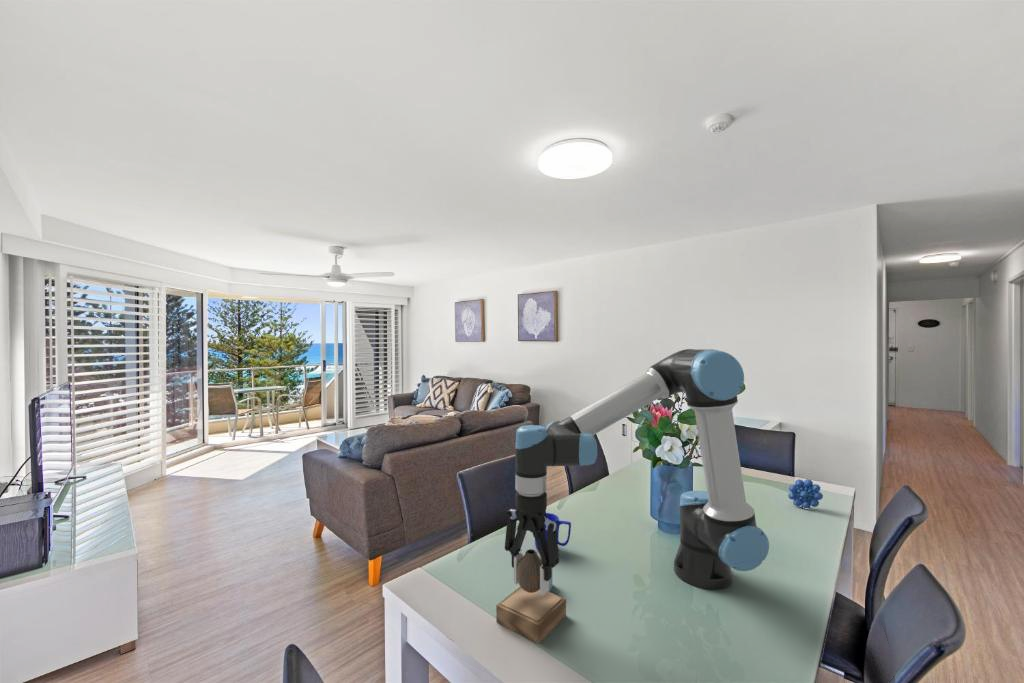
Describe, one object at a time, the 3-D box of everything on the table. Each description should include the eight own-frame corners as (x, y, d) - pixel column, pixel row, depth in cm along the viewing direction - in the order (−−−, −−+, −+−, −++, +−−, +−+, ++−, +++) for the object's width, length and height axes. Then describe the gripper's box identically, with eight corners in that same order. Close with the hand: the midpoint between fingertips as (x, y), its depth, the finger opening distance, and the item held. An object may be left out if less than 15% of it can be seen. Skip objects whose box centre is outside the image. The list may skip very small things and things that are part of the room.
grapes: (826, 510, 167) (826, 479, 167) (821, 515, 162) (821, 483, 162) (791, 502, 176) (791, 472, 176) (786, 506, 171) (786, 476, 171)
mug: (570, 557, 131) (570, 525, 131) (531, 554, 134) (531, 522, 134) (571, 545, 139) (571, 514, 139) (535, 541, 142) (535, 511, 142)
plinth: (566, 615, 104) (565, 597, 104) (538, 643, 94) (538, 624, 94) (525, 597, 111) (525, 581, 111) (496, 622, 101) (496, 604, 101)
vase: (515, 580, 106) (515, 545, 106) (543, 579, 106) (543, 544, 106) (518, 597, 99) (518, 559, 99) (547, 595, 99) (547, 558, 99)
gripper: (575, 495, 100) (575, 594, 100) (507, 479, 112) (507, 567, 112) (558, 505, 94) (558, 610, 94) (489, 487, 106) (489, 580, 106)
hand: (531, 586), depth 103 cm, fingers closed on vase, 7 cm apart
